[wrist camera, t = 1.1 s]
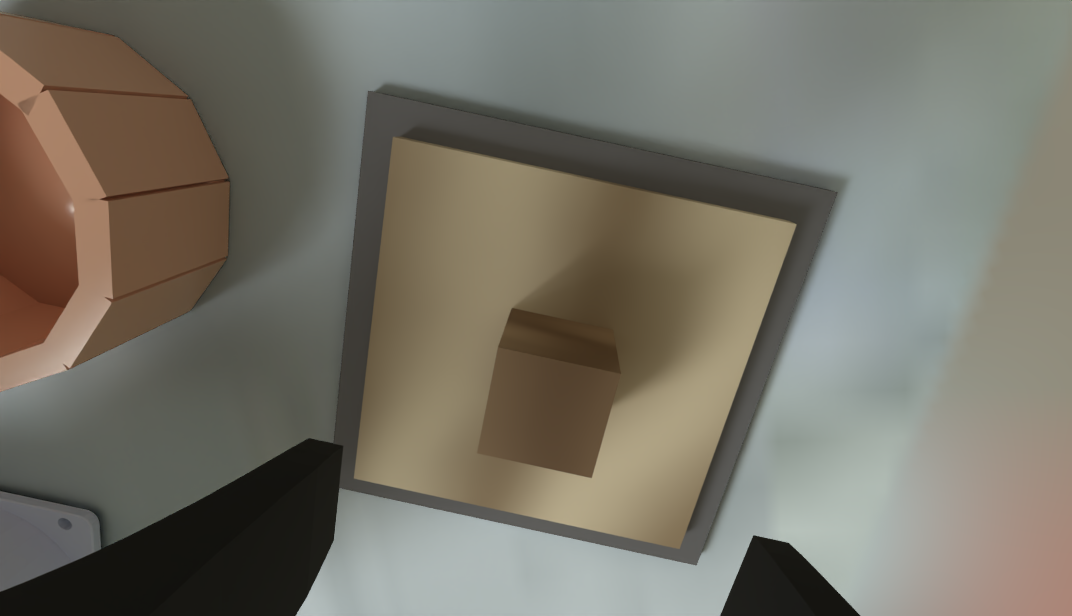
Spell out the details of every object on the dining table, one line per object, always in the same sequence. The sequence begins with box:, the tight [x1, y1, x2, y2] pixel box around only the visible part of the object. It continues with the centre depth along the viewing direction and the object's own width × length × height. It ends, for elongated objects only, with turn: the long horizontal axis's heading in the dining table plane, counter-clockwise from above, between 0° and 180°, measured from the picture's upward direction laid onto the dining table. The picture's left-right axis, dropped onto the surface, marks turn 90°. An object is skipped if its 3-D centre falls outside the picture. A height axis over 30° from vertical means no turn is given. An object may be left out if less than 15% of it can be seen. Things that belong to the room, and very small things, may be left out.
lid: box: [354, 137, 797, 549], centre depth 15 cm, size 11×11×4 cm
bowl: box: [0, 12, 230, 392], centre depth 15 cm, size 9×9×4 cm
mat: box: [334, 91, 837, 565], centre depth 17 cm, size 13×13×1 cm
